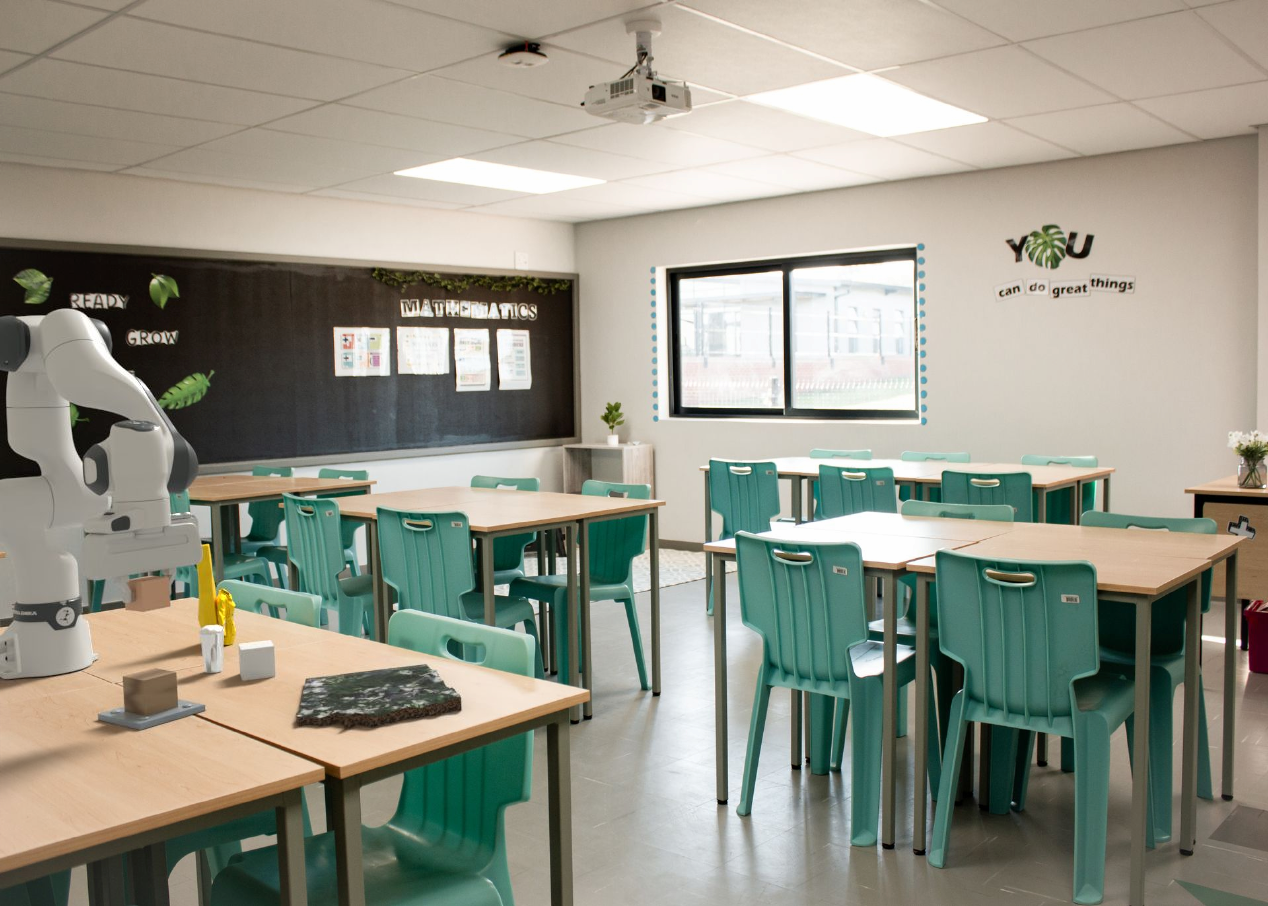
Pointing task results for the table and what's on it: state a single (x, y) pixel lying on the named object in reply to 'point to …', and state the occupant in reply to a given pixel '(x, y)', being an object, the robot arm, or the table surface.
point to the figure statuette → (214, 600)
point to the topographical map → (376, 697)
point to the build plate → (144, 722)
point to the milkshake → (212, 647)
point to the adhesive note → (256, 660)
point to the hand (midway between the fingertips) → (147, 598)
